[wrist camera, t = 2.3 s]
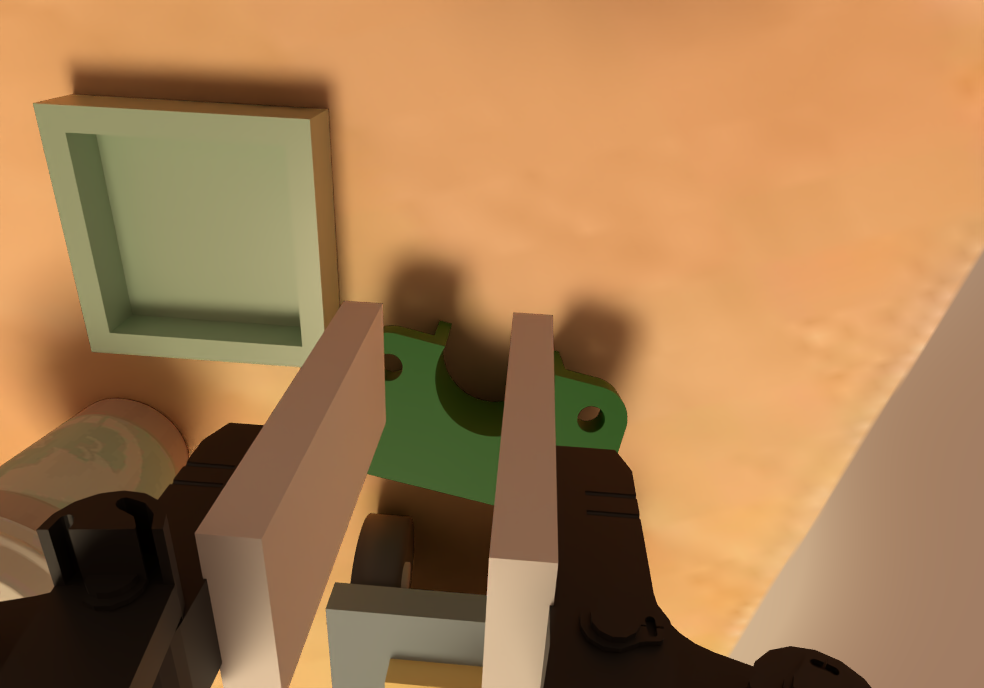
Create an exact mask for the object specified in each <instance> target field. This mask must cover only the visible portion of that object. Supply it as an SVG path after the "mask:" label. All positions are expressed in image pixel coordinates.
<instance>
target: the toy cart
mask: <svg viewBox="0 0 984 688" xmlns="http://www.w3.org/2000/svg"><path fill="white" fill-rule="evenodd" d="M413 553H414V526H413V520H412V517H410V516H398V515H385V514H373V513H370V514H369V515H368V516H367V517H366V519H365V521H364V523H363V526H362V529H361V532H360V535H359V539H358V543H357V547H356V552H355V557H354V562H353V568H352V575H351V584H348V583H336V582H335V584H334V587H333V590H332V593H331V595H330V598H329V601H328V604H327V607H326V618H327V629H328V641H329V653H330V665H331V677H332V688H482V674H483V656H484V638H485V621H486V603H487V595H478V594H466V593H454V592H443V591H431V590H419V589H410V586H411V578H412V567H413Z"/></svg>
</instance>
